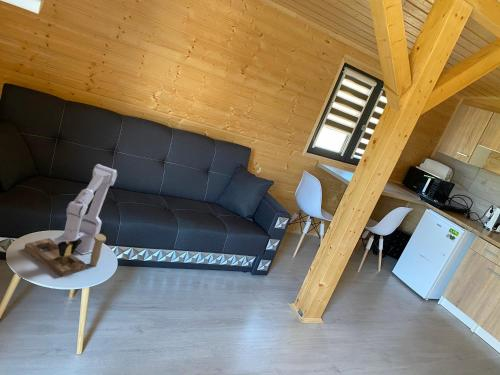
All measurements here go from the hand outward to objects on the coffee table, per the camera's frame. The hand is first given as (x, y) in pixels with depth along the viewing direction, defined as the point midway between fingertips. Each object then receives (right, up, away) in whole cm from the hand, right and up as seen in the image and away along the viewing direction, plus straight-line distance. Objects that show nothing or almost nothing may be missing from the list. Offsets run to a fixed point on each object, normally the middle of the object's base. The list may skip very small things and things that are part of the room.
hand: (66, 254), depth 171 cm
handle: (+8, -7, +10) cm, 15 cm away
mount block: (-7, -3, +4) cm, 9 cm away
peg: (-2, -4, +1) cm, 5 cm away
